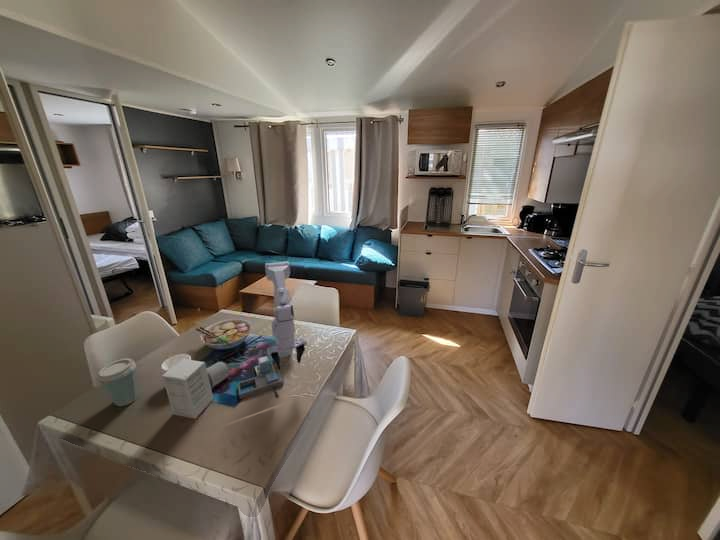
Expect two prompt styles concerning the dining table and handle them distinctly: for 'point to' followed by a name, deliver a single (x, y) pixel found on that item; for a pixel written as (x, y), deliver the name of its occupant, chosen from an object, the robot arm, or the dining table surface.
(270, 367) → the tray
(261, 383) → the grey busybox board
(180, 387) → the supplement box
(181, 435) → the dining table surface
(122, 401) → the disposable coffee cup
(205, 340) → the ramen bowl
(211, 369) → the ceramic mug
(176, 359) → the cup
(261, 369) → the plug
